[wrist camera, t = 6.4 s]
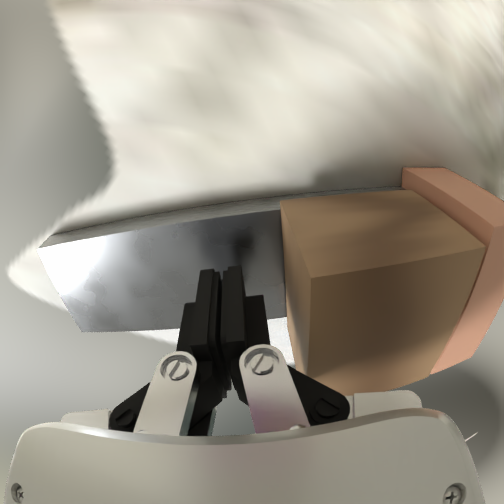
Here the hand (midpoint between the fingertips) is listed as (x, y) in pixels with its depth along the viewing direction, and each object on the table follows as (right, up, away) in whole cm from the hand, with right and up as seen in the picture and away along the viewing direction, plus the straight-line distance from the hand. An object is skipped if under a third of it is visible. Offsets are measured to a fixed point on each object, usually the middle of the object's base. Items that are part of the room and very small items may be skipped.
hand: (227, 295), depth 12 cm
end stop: (+10, +3, +2) cm, 11 cm away
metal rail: (+1, +2, +2) cm, 3 cm away
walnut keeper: (+5, +1, +1) cm, 6 cm away
